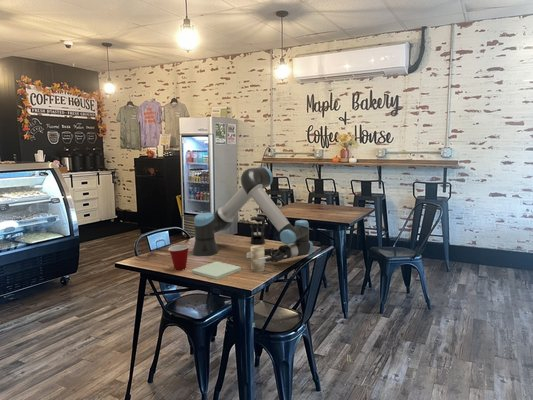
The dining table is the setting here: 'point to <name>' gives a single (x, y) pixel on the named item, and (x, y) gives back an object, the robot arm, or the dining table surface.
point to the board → (216, 270)
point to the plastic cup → (179, 256)
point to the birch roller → (257, 258)
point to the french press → (257, 239)
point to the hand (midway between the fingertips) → (252, 258)
